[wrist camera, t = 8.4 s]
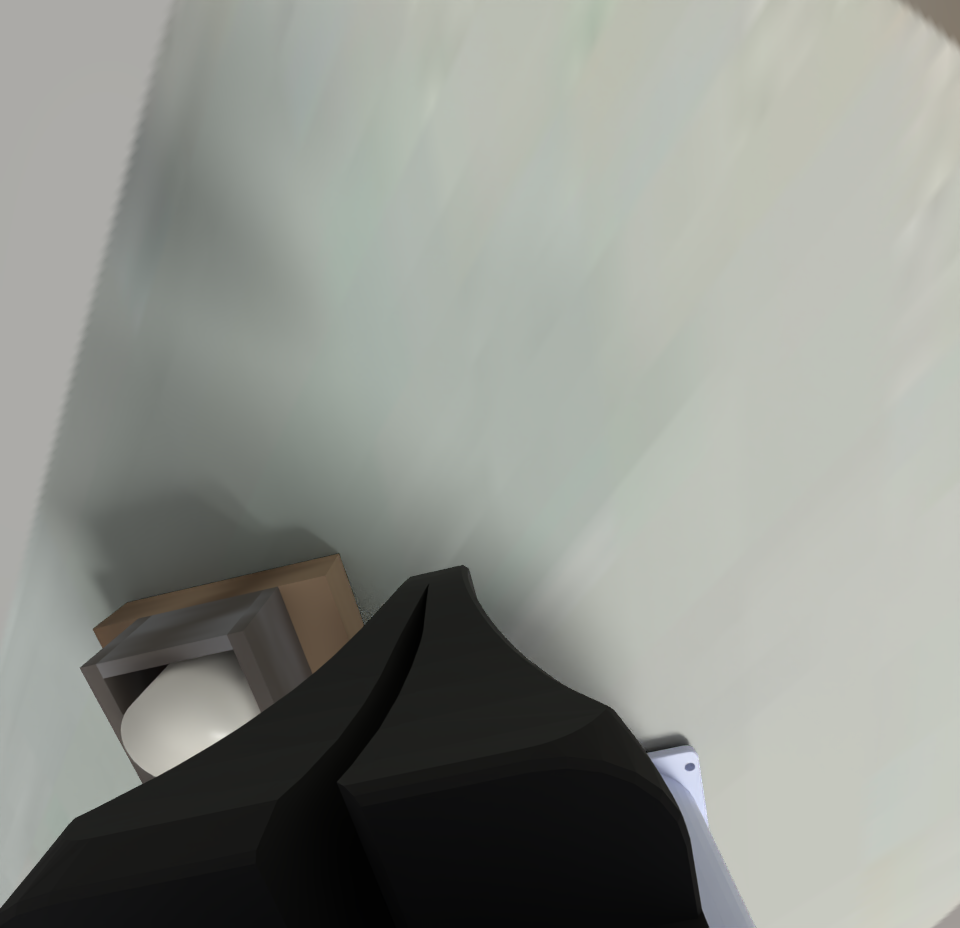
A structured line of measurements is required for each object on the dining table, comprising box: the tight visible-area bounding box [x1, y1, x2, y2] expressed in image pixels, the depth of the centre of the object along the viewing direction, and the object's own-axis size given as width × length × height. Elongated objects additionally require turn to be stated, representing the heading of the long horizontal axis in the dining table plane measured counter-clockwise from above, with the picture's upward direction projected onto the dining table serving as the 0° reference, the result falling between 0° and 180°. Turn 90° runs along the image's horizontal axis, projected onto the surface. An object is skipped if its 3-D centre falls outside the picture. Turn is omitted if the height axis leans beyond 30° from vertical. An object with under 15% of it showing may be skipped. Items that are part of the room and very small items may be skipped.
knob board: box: [80, 554, 364, 784], centre depth 21 cm, size 10×18×5 cm, turn 14°
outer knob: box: [121, 650, 261, 777], centre depth 18 cm, size 4×4×4 cm
